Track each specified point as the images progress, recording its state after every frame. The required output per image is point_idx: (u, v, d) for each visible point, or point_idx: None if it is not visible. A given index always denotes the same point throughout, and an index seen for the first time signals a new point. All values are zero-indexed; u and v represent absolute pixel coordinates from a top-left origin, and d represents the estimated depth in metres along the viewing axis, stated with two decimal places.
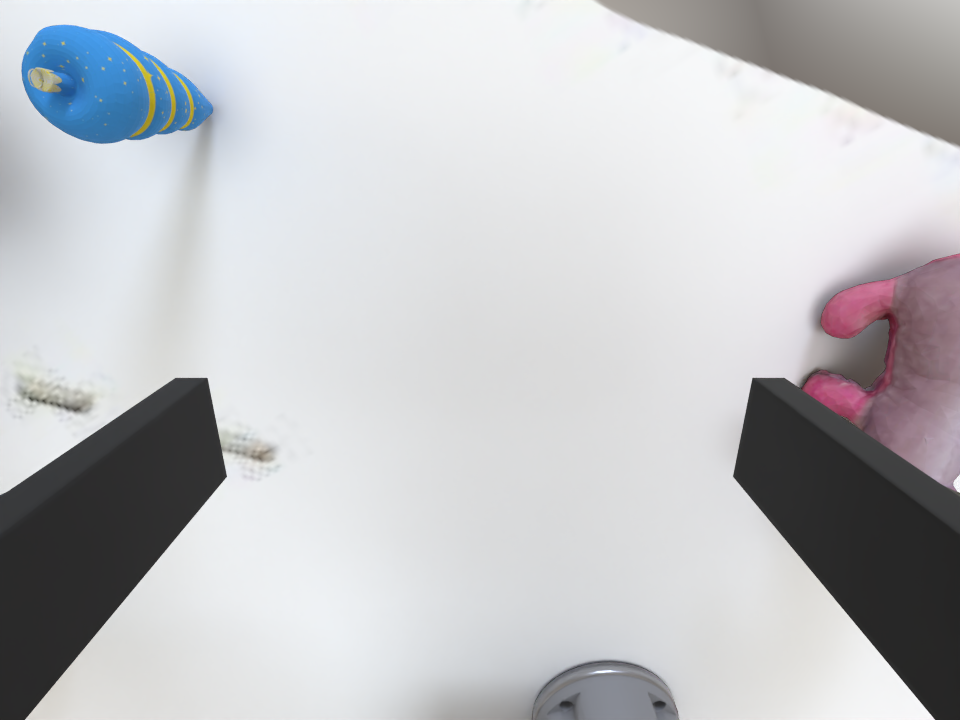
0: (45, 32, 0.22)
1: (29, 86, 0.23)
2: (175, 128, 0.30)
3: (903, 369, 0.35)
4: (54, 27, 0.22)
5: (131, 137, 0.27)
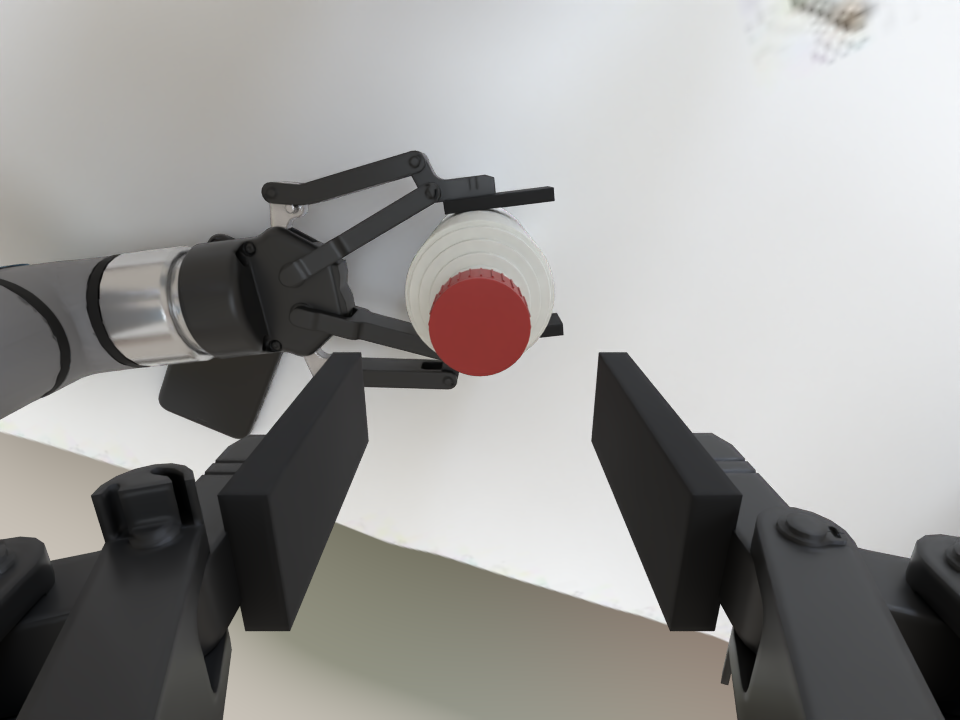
0: None
1: None
2: None
3: None
4: None
5: None
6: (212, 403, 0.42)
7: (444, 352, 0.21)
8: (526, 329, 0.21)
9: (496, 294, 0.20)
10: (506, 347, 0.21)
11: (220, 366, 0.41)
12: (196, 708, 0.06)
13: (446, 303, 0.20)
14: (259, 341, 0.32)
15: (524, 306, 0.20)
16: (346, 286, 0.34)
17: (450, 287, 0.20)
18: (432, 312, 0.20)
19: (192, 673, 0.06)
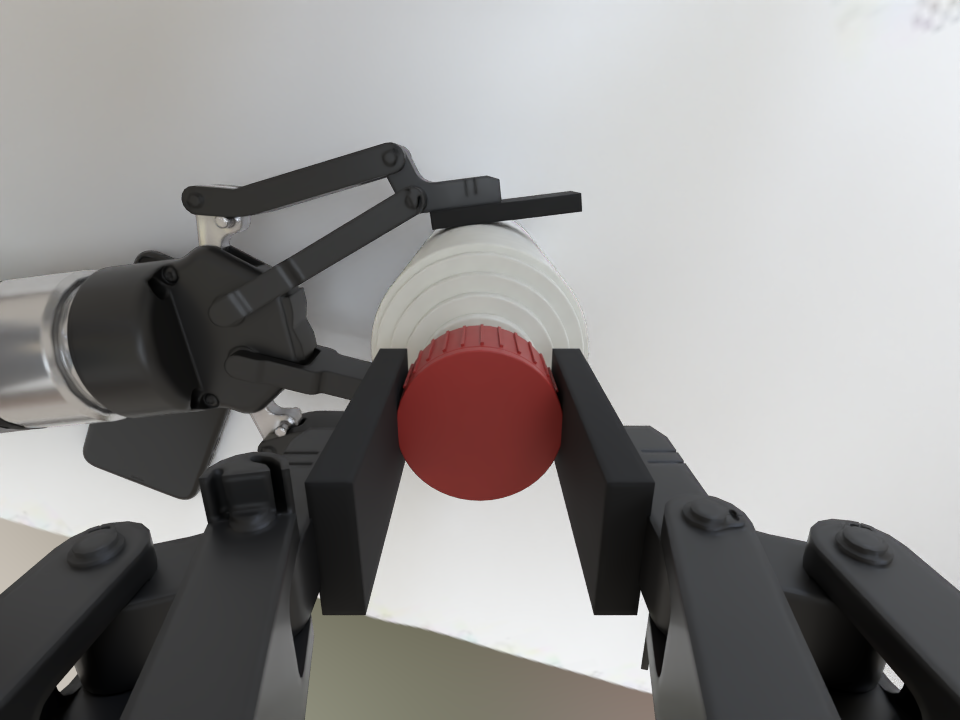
0: None
1: None
2: None
3: None
4: None
5: None
6: (149, 458, 0.34)
7: (422, 465, 0.13)
8: (556, 430, 0.13)
9: (507, 376, 0.12)
10: (523, 458, 0.13)
11: None
12: (287, 692, 0.06)
13: (424, 390, 0.12)
14: (185, 398, 0.24)
15: (554, 395, 0.12)
16: (304, 322, 0.26)
17: (430, 365, 0.12)
18: (401, 404, 0.12)
19: (285, 658, 0.06)
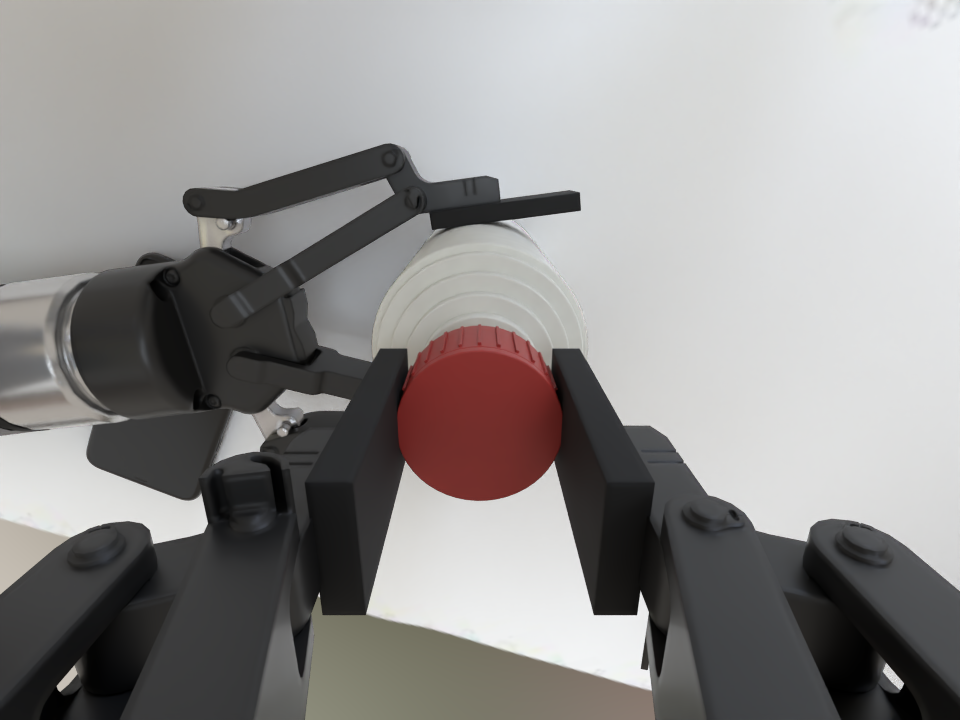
0: None
1: None
2: None
3: None
4: None
5: None
6: (152, 459, 0.34)
7: (541, 460, 0.13)
8: (443, 366, 0.12)
9: (416, 432, 0.13)
10: (488, 379, 0.12)
11: None
12: (287, 692, 0.06)
13: (466, 488, 0.13)
14: (187, 399, 0.24)
15: (410, 386, 0.12)
16: (305, 323, 0.26)
17: (441, 491, 0.13)
18: (489, 498, 0.13)
19: (285, 658, 0.06)
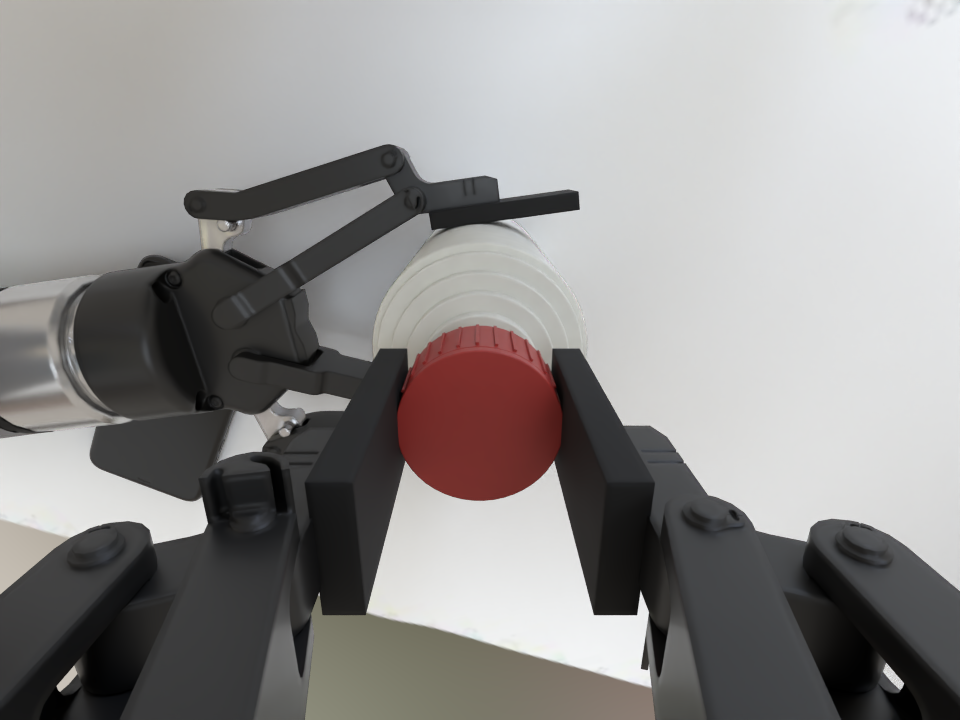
0: None
1: None
2: None
3: None
4: None
5: None
6: (155, 460, 0.35)
7: (480, 363, 0.12)
8: (436, 483, 0.13)
9: (510, 477, 0.13)
10: (428, 445, 0.13)
11: None
12: (287, 693, 0.06)
13: (546, 413, 0.12)
14: (190, 400, 0.24)
15: (469, 498, 0.13)
16: (306, 323, 0.26)
17: None
18: (548, 386, 0.12)
19: (285, 658, 0.06)
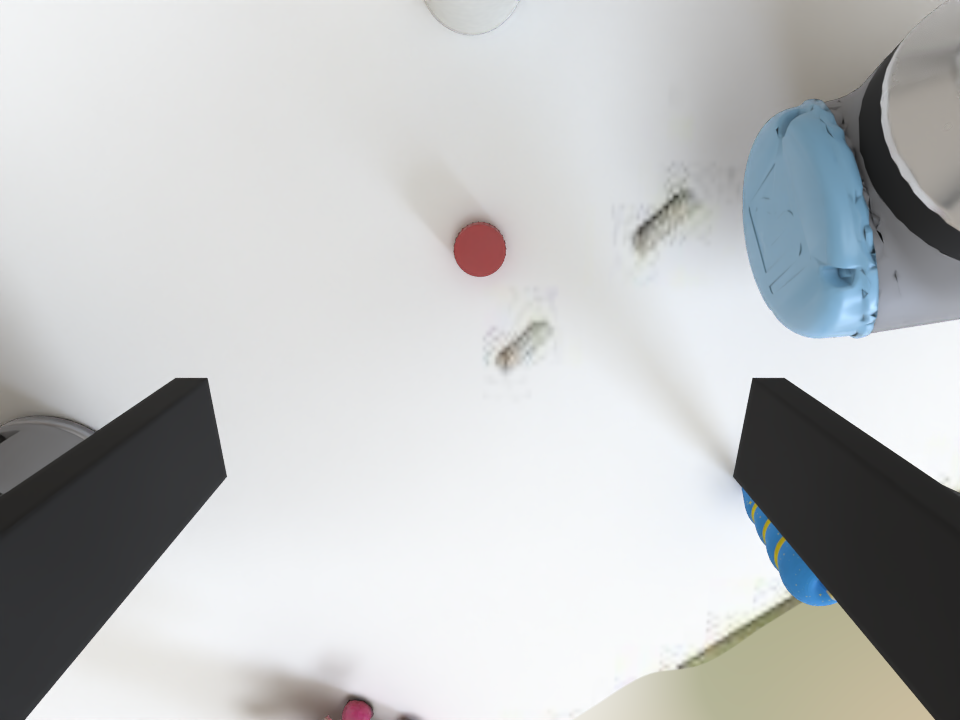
0: None
1: None
2: (758, 529, 0.45)
3: None
4: None
5: (776, 542, 0.41)
6: None
7: (460, 261, 0.41)
8: (503, 254, 0.41)
9: (490, 234, 0.40)
10: (491, 262, 0.41)
11: None
12: None
13: (465, 235, 0.40)
14: None
15: (503, 242, 0.41)
16: None
17: (468, 227, 0.40)
18: (457, 239, 0.41)
19: None
